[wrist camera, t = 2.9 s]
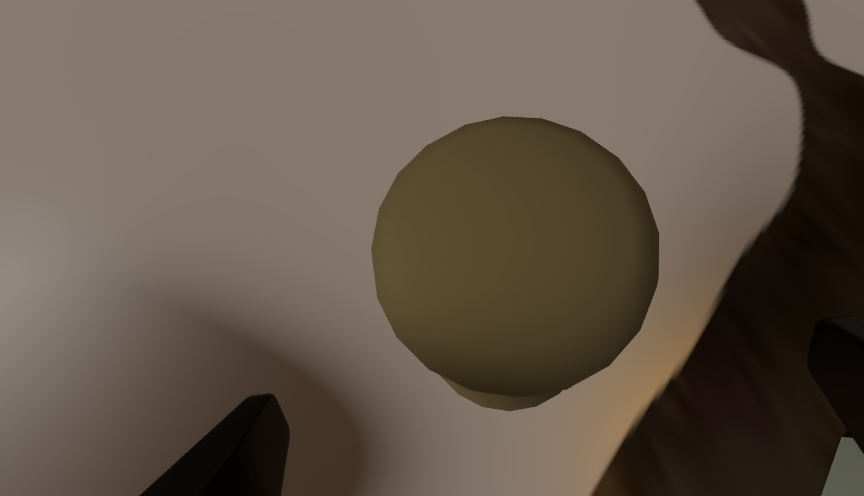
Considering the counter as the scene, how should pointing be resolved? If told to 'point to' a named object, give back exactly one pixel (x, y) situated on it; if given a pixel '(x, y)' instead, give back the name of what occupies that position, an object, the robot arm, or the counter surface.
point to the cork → (515, 259)
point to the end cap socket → (846, 471)
